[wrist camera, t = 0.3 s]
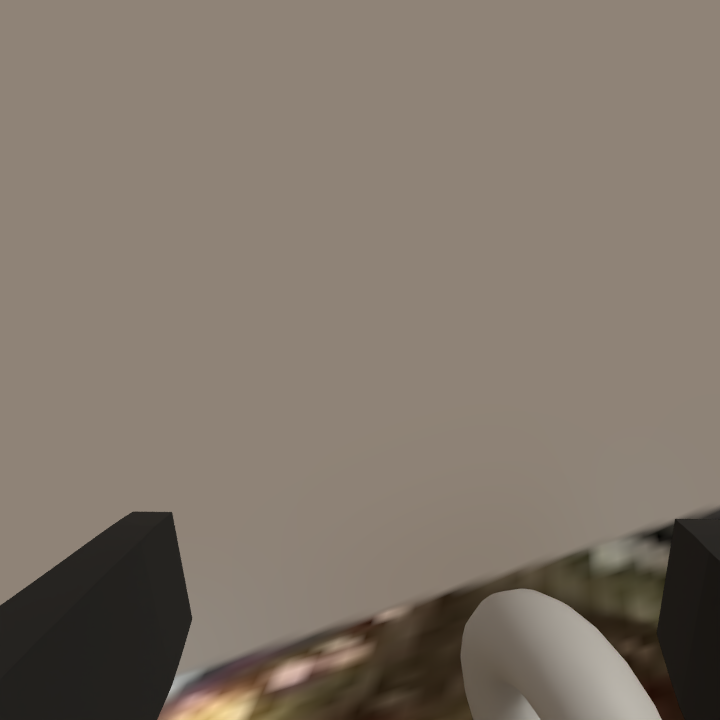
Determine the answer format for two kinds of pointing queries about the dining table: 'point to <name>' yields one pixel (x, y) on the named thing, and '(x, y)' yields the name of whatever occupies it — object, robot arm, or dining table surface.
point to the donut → (545, 664)
